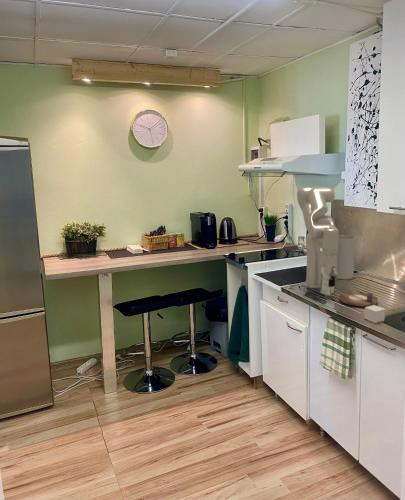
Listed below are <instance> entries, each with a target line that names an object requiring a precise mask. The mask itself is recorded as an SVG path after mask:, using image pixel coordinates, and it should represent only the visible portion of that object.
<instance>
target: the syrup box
mask: <svg viewBox="0 0 405 500" xmlns="http://www.w3.org/2000/svg"><path fill="white" fill-rule="evenodd" d="M324 268H325V267H322V270H321V284H320V288H319V294H324V295H327V296H328V295H329V296H330V295H332V294H334V292H335V289H336V288H335V286H334V287H329V279H330V278H329V275H327V274H326V273H324ZM331 273H333V271H331ZM332 276H333V275H331V277H332Z"/></svg>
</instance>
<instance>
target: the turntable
mask: <svg viewBox="0 0 405 500" xmlns="http://www.w3.org/2000/svg"><path fill="white" fill-rule="evenodd" d="M373 294H374V293H372V292H359V291H348V292H346V291H345V292H343V293H341V294H340V295H339V301H340V302H342V303H343V304H346V305H348V306H349V305H350V306H354V307H369V306H372V305H375V306H376V305H377V304H378V297H377V296H375V295H373Z"/></svg>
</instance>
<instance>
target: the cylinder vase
mask: <svg viewBox="0 0 405 500" xmlns="http://www.w3.org/2000/svg"><path fill="white" fill-rule="evenodd" d="M355 253H356V236H352V235H338V249H337V255H336V256H337V271H336V272H337V276H336V279H337V280H344V281H345V280H352V279H353V278H354V275H355V274H354V272H355V259H356V258H355V255H356V254H355Z"/></svg>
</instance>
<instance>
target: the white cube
mask: <svg viewBox="0 0 405 500" xmlns="http://www.w3.org/2000/svg"><path fill="white" fill-rule="evenodd" d="M385 315H386V309H385V308H384V307H381V306H378V305H376V304H375V305H372V306H364V317H363V319H364V318H365V319H368V320H370V321H374V322H378V321H383V322H385V318H386V317H385Z"/></svg>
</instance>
